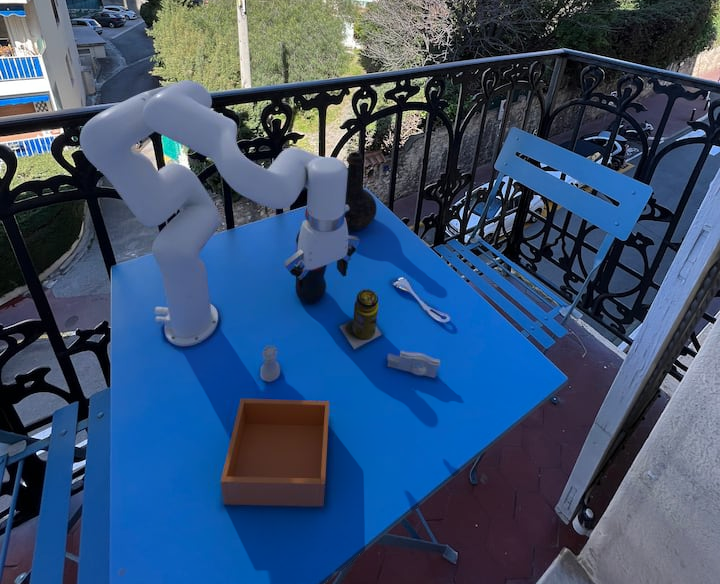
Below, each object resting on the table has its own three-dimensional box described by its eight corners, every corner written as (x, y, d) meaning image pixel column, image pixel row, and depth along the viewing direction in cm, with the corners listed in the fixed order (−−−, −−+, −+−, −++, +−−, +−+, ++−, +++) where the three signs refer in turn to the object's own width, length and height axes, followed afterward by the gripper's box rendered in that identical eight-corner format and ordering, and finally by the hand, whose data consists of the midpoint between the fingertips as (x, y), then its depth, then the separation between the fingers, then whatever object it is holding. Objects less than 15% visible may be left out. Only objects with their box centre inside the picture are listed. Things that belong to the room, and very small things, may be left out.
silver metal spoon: (455, 310, 108) (445, 319, 105) (453, 320, 109) (443, 330, 106) (399, 270, 121) (388, 278, 118) (398, 279, 122) (387, 287, 119)
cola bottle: (289, 300, 111) (290, 212, 99) (304, 279, 119) (306, 194, 106) (316, 311, 109) (320, 222, 96) (330, 289, 116) (336, 203, 103)
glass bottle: (353, 201, 155) (359, 137, 144) (385, 226, 143) (394, 158, 132) (315, 218, 145) (317, 149, 133) (346, 246, 133) (351, 174, 121)
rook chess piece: (270, 387, 90) (270, 363, 86) (256, 375, 92) (255, 352, 88) (284, 371, 93) (284, 347, 90) (270, 360, 95) (269, 337, 92)
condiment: (381, 334, 104) (386, 301, 99) (354, 349, 99) (357, 315, 94) (366, 313, 109) (369, 281, 104) (339, 327, 105) (341, 294, 100)
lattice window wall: (385, 367, 96) (388, 350, 93) (387, 360, 98) (389, 343, 95) (436, 380, 94) (440, 363, 92) (436, 372, 96) (440, 356, 93)
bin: (223, 504, 71) (220, 481, 68) (242, 421, 83) (240, 398, 80) (323, 506, 72) (325, 484, 68) (327, 423, 84) (329, 401, 81)
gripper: (352, 196, 88) (347, 256, 95) (277, 217, 79) (278, 282, 86) (371, 215, 82) (364, 277, 89) (292, 240, 73) (292, 307, 81)
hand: (322, 279), depth 88 cm, fingers open, 9 cm apart
